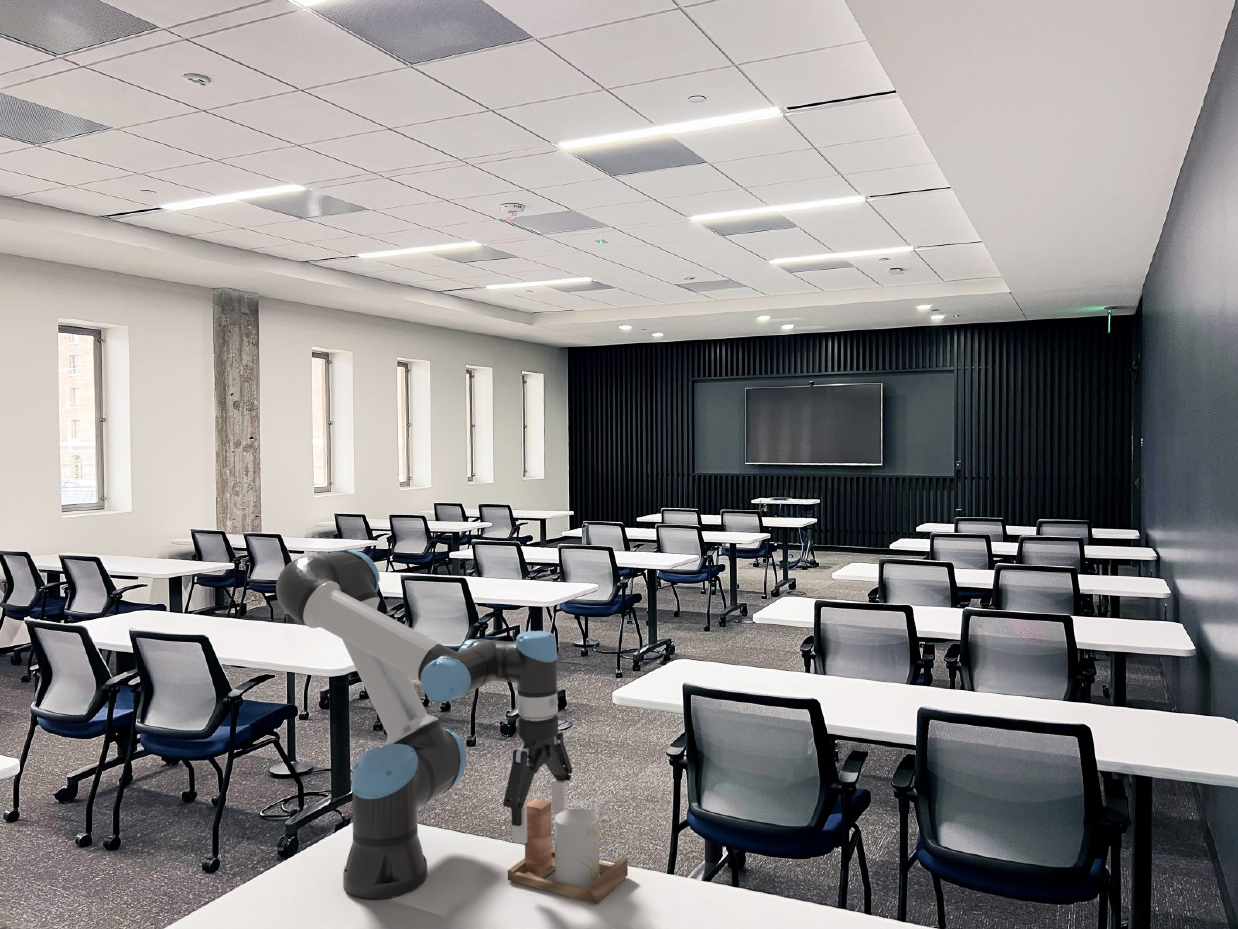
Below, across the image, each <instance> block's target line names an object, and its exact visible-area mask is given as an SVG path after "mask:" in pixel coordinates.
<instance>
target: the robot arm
mask: <svg viewBox="0 0 1238 929" xmlns="http://www.w3.org/2000/svg"><path fill="white" fill-rule="evenodd" d="M377 567H378V566H376V564H375V562H374V561H373V559H371V558H370V557H369V556H368V555H366V554H365V553H363V552H361V551H358V550H354V549H353V550H352V549H349V550H346V549H342V550H341V549H340V550H334V551H331V552H327V553H320V554H314V555H306V556H300V557H298V558H296V559H293V560H292V561H290V562H289V563H288V564H287V565H286V566H285V567H284V568H282V570H281V571H280V574H279V575H278V578H277V580H276V587H275V588H276V589H275V590H276V591H275V592H276V598H277V601H278V602H279V605H280V606H281V609H282V610H284V612H285V613H286V614H288V616H290V617H291V618H292V619H294V620H296V621H297V622H298V623H300V624H303V625H304V626H307V627H308V628H310V629H317V628H318V629H319V627H320V628H322V629H323V630H325V631H327V632H329V633H331V634H333V635H335V636H336V637H338V638H340V639H341V640H342V643H343V644H344V646H345V648H346V650H347V652H348V655H349V657H350V659H351V660H352V663H353V665H354V667H355V670H356V672H357V673H358V675H359V678H360V679H361V682H362V684H363V687H364V688H365V690H366V693H367V695H368V697H369V698H370V699H369V700H370V701H371V703H372V705H373V707H374V709H375V711H376V714H377V715H378V718H379V720H380V723H381V724H382V726H383V728H384V730H385V732H386V735H387V739H386V742H385V745H383V746H380V747H379V746H376V747H374V748H371V749H369V750H367V751H366V752H363V753H362V754H361V755H360V756H358V758H357V759H356V760H355V763H354V764H353V768H352V778H351V783H350V784H351V790H352V791H351V794H352V796H351V797H352V798H351V799H352V843H351V846H350V850H349V854H348V856H347V859H346V864H345V866H344V869H343V871H342V872H343V874H342V876H343V880H342V881H343V882H342V886H343V889H344V890H345V892H347V893H348V894H350V895H351V896H354V897H357V898H361V899H366V900H367V899H369V900H381V899H382V900H383V899H390V898H394V897H396V898H397V897H398V896H403V895H406V894H409V893H411V892H412V891H414V890H415V891H416V890H417V889H419V887H421V886H422V885H423V884H424V883H425V882H426V881H427V879H428V860H427V858H426V856H425V854H424V852H423V847H422V845H421V841H420V838H419V834H418V833H419V831H418V823H419V822H418V810H419V809H420V808H422V807H424V806H425V805H426V804H428V803H429V802H431V801H433V800H434V799H437V798H438V797H439V796H441V795H444V794H445V793H447V792H449V791H450V790H452V788H453V787H454V786H455V785H457V783H458V782H459V781H460V780H461V779H462V777H463V776H464V775H465V774H464V773H465V770H466V767H467V760H468V759H467V751H466V746H465V745H464V742H463V740H462V738H460V736H459V735H458V734H457V733H456V732H454V731H451V730H450V729H447V728H443V726H442V724H441V721H440V719H439V718H438V717H437V716H433V715H430V714H428V712H427V711H426V708H425V706H424V704H423V703H422V701H421V698H420V697H419V694H418V693H417V691H416V688H415V686H414V684H413V682H412V680H411V678H414V680H415V679H416V680H417V681H419V682H420V684H421V689H422V691H423V692H424V693H425V695H426V696H427V698H428V699H430V700H431V701H434V702H436V703H447V702H449V701H454V700H456V699H459V698H461V697H463V696H464V695H467V694H468V693H470V692H472V691H474V690H477V689H479V688H481V687H484V686H486V685H487V684H489V683H492V682H506V683H516V684H517V686H516V687H517V714H518V715H519V717H518V718H517V725H518V726H517V728H518V730H517V731H518V736H519V738H520V739H521V740H522V741H523V747H522V749H514V750H513V751H512V761H511V762H512V764H511V766H510V767H511V768H510V772H509V776H508V781H507V785H506V789H505V794H504V799H503V803H502V805H503V807H504V808H505V807H506V808H509V809H511V825H512V832H511V834H512V842H514V843H515V842H516V843H520V844H524V845H525V843H527V806H525V802H526V800H527V797H528V795H529V791H530V789H531V786H532V782H533V780H534V777H535V775H536V774H537V773H538V772H539V770H540V768H541V767H542V766H543V765H546V767H547V769H548V770H549V772H550V774H551V775H552V776H553V778H554V779H552V780H551V815H554V816H556V815H557V814H558V813H560V812H562V811H565V810H567V796H566V795H567V788H566V787H567V785H566V784H567V782H571V781H572V780H571V779H572V773H573V767H572V764H571V761H570V758H569V755H568V752H567V748H566V745H565V743H564V733H563V732H562V731H559V717H558V715H557V713H558V710H559V707H558V704H559V700H558V657H559V655H558V652H557V650H558V649H557V641H556V637H555V635H554V634H553V633H552V632H549V631H546V630H545V631H544V630H536V631H535V630H530V631H524V632H520V633H519V634H518V635H517V636H516V641H504V640H491V639H485V638H479V639H468V640H465V641H464V642H463V643H462V646H460V648H459V649H458V650H457V651H456V650H453V649H452V648H450V647H448V646H445V645H443V644H441V643H439V642H437V641H436V640H433V639H432V638H430V637H428V636H426V635H424V634H423V633H421V632H418V631H416V630H415V629H413V628H411V627H409V626H407V625H405V624H403V623H402V622H400V621H398V620H396V619H394V618H392V617H390V616H388V615H387V614H384V613H383V612H381V611H379V610H378V606H379V603H380V600H381V599H380V597H379V595H378V590H379V588H380V584H379V582H380V581H381V578H380V573H379V570H378V568H377ZM410 677H411V678H410Z"/></svg>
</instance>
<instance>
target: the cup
mask: <svg viewBox="0 0 1238 929" xmlns="http://www.w3.org/2000/svg"><path fill="white" fill-rule="evenodd" d="M554 850H555V870H554V878H555V879H554V882H558V883H562V884H566V885H570V886H573V887H577V888H581V889H585V890H589V891H591V883H593V882H594V881H595V880H596V879H597V878H598V877H599V876H600V871H599V861H600V815H599V814H598V813H597V812H596V811H593V810H591V809H586V808H585V809H584V808H572V809H570V808H569V809H566V810H565V811H562V812H560V813H558V814H557V815H554Z"/></svg>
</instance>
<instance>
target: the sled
mask: <svg viewBox="0 0 1238 929" xmlns="http://www.w3.org/2000/svg"><path fill="white" fill-rule="evenodd" d="M524 806H527V843H525V844H524V858H523V859H521V860H519V862H517V863H515V864H514V865H513V866H511V867H510V868H508V870H507V881H511V882H515V883H518V884H521V885H525V886H529V887H532V888H536V889H540V890H545V891H548V892H551V893H554V894H560V895H563V896H566V897H571V898H575V899H578V900H581V901H586V902H589V903H592V904H599V902H601V900H603V899H604V898H605V897H606V896H607V895H608V894H609V893H611V891H612V890H613V889H615V888H616V887H617V886H618V885H619V884H620V883H621V882H622V881H624V879H625V878H627V877H628V874H629V873H628V872H629V868H628V866H629V865H628V864H629V863H628V858H627V857H623V856H621V857H620V858H619V859H618V860H616V861H615V862H614V863H613V864H612V863H610V864H609V862H605V863H604V861H601V860H599V872H600V873H601V872H602V873H601V874H600V875H599V877H598V878H597V879H596V880H595V881H594V882H593V883H591V891H589V890H585V889H581V888H577V887H573V886H570V885H566V884H562V883H558V882H555V880H554V881H553V880H550V879H546V878H545V877H547V876H548V875H549V874H550V873H552V872H553V871H555V849H552V801H547V800H545V799H544V800H543V799H539V798H534V799H532V800H531V801H530V802H528V803H527V804H524Z"/></svg>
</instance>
